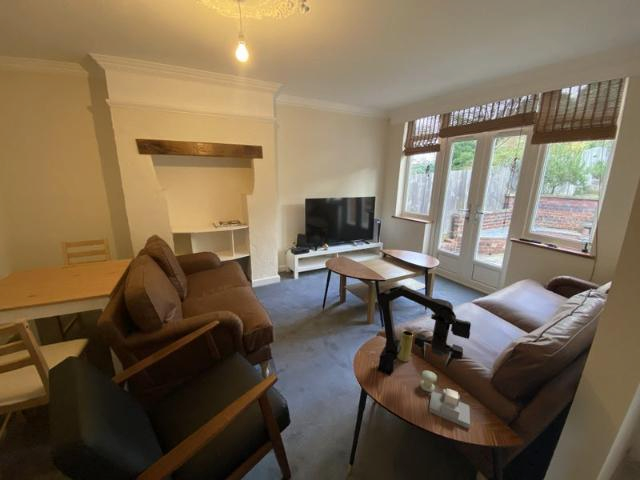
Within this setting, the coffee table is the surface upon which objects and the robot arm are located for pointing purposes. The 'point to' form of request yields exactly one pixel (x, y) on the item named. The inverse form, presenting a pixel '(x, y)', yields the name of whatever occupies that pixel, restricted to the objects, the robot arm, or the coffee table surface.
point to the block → (451, 397)
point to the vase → (406, 346)
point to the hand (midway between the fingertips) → (434, 362)
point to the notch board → (462, 413)
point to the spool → (428, 381)
